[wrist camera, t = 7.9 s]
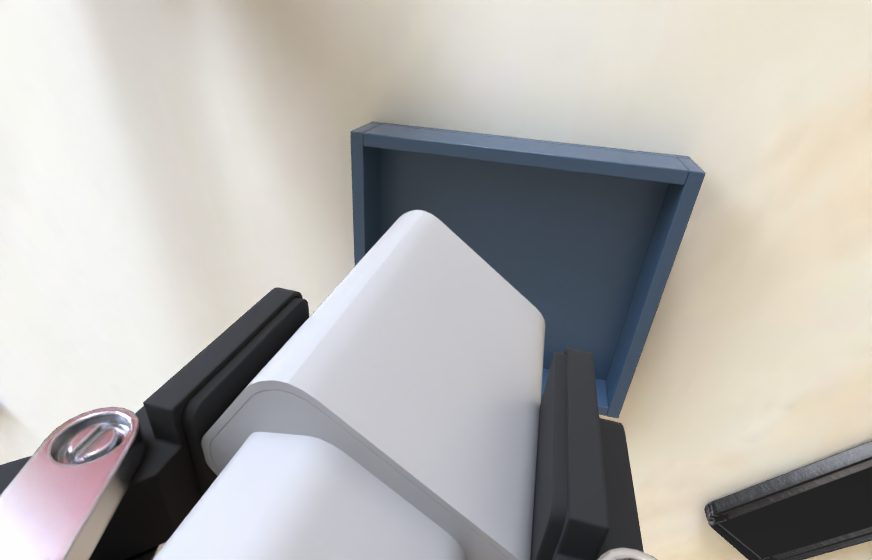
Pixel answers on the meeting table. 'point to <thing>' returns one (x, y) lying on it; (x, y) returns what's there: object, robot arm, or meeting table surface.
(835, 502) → the phone
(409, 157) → the tray
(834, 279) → the meeting table surface
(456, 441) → the power adapter
